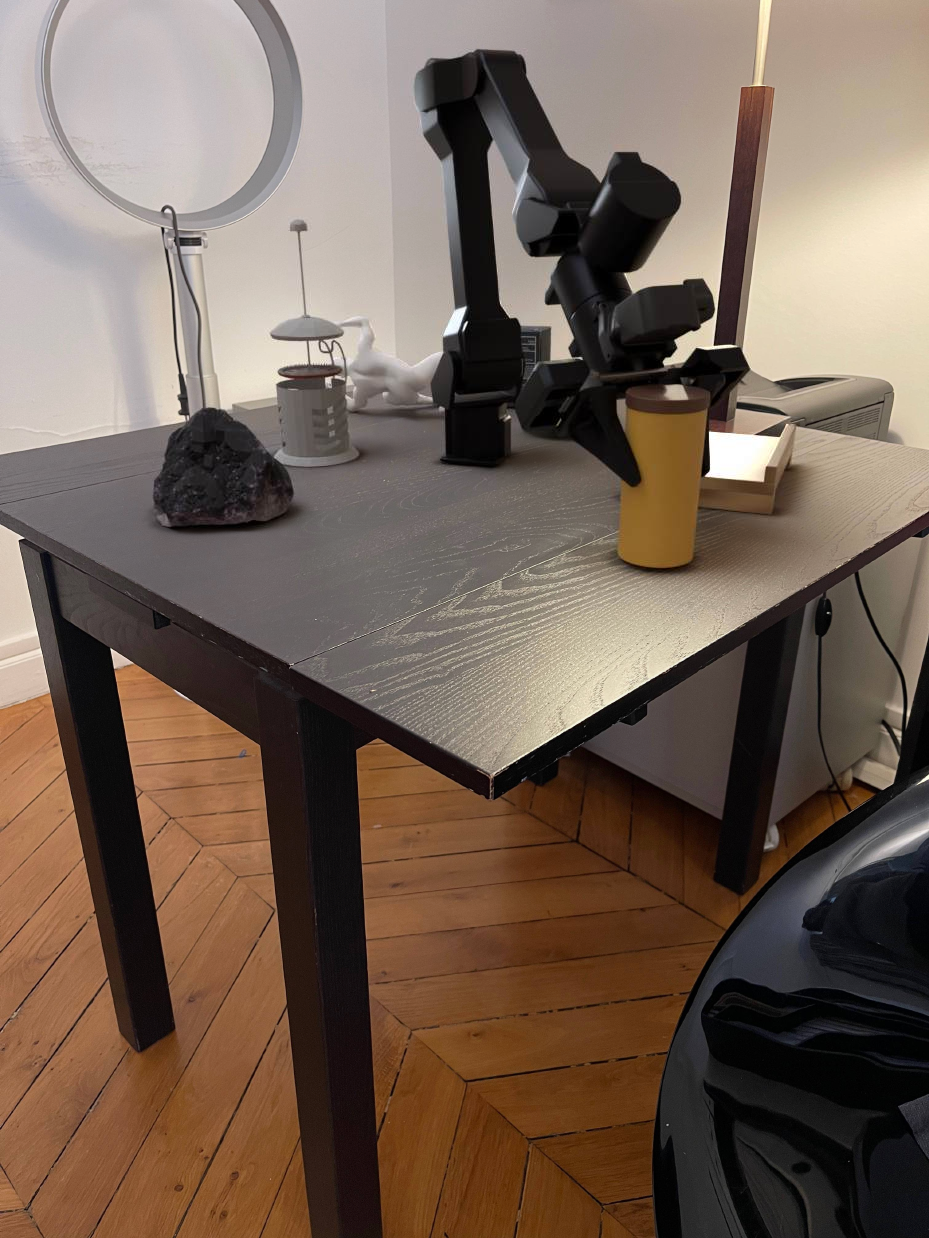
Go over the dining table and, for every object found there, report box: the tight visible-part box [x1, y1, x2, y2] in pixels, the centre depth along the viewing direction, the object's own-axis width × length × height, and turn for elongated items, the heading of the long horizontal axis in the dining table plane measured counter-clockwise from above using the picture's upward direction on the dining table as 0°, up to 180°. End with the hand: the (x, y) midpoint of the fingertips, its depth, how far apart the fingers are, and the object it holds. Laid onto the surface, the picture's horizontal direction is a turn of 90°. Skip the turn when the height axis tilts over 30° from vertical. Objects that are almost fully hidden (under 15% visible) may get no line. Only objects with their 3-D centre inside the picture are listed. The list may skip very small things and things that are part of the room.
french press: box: [269, 218, 360, 468], centre depth 102 cm, size 10×12×25 cm
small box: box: [506, 325, 552, 408], centre depth 130 cm, size 11×6×10 cm, turn 71°
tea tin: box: [617, 384, 710, 569], centre depth 72 cm, size 6×6×13 cm
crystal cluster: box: [152, 406, 295, 528], centre depth 87 cm, size 13×14×10 cm
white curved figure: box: [325, 315, 445, 414], centre depth 124 cm, size 13×13×18 cm
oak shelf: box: [698, 423, 797, 515], centre depth 94 cm, size 14×18×4 cm
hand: (671, 479), depth 71 cm, fingers closed on tea tin, 6 cm apart
